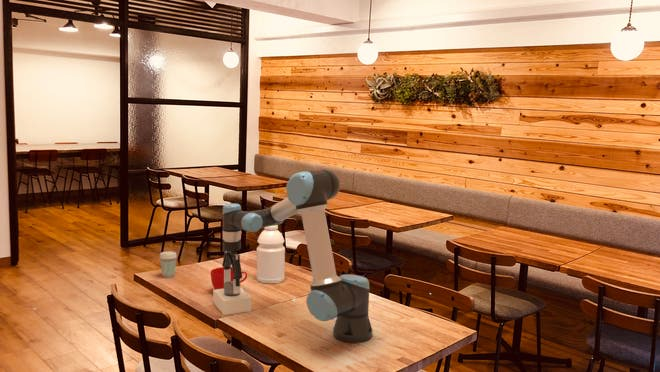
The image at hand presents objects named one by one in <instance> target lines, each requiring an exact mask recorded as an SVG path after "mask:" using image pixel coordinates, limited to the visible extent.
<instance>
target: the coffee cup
mask: <svg viewBox="0 0 660 372" xmlns="http://www.w3.org/2000/svg"><path fill="white" fill-rule="evenodd" d="M177 257H178V255H177V253H176V252H175V251H162V252H160V253H159V257H158V258H159V261H160V269H161V276H162V278H164V279H171V278H175V275H176V264H177Z"/></svg>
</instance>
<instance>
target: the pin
mask: <svg viewBox="0 0 660 372" xmlns="http://www.w3.org/2000/svg"><path fill="white" fill-rule="evenodd" d="M224 295H225V296H238V295H240V293H238V294H234V289H233V281H228V282H225V283H224Z"/></svg>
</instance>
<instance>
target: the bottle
mask: <svg viewBox="0 0 660 372" xmlns="http://www.w3.org/2000/svg"><path fill="white" fill-rule="evenodd" d="M263 228H264V229H263V230H262V231H261V233H260V234H259V236H258V238H257V243H258V244H259V245H258V246H257V247H256V276H255V277H256V280H257V282H258V283H261V284H267V285H268V284H271V285H272V284H280V283H281V282H282V283H283V282H284V280H285V278H286V275H285V267H286V264H285V263H286V260H285V259H286V255H285V254H286V247H285V246H284V245H283V244H284V243H285V239H284V237H283V234H282V232H280V231H279V230H278V229H279V225H276V226H268V227H263Z"/></svg>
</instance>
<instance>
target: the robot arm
mask: <svg viewBox="0 0 660 372" xmlns="http://www.w3.org/2000/svg"><path fill="white" fill-rule="evenodd" d="M285 189H286V198H284V199H283V200H281V201H279V202H276V203H274V205H272V206H270V207H268V208H264V209H263V208H262V209H259V210H252V211H246V210H245V211H244V210H242V206H241V205H240V204H239V203H226V204H224V205H223V206H222V240H223V241H222V249H223V250H224V253H223V260H222V267H224V269H225V270H224V283H225V282H228V281H231V267H232V269H233V274H234V277H233V289H234V294H238V293H240V287H241V283H240V281H241V279H243V273H242V272H243V271H242V266H241V259H240V258H241V255H240V254H238V252H237V251H239V250H241V248H242V243H241V239H242V238H241V236H242V233H243V232H242V230H243V231H246V232H250V233H256V232H258V231H259V230H260V229H263V228H264V227H268V226H276V225H278V226H279V225H281V224H283V223H284V220H287V219H289V218H290V217H292V216H294V215H297V214H298V213H299V214H300V215H301V220H302V224H303V225H302V226H303V230H304V236H305V242H306V246H307V247H306V248H307V252H308V257H309V258H308V259H309V263H310V269H311V273H312V274H311V275H312V280H311V282H310V284H309V286H310V292H309V293H308V294H307V296H306V299H305V301H306V302H305V303H306V307H307V309H308V312H309V313H310V314H311V316H313V318H314V319H316V320H318V321H320V322H327V321H332V320H335V322H334V325H333V328H332V336H333V337H334V338H335V339H336V340H339V341H342V342H344V343H345V342H346V343H363V342H364V343H365V342H367V341H369V340H371V338H372V337H373V327H372V324H371V321H370V317H369V308H370V307H369V306H370V305H369V304H370V303H369V302H370V289H371V288H370V282H369V280H368V278H367V277H365V276H362V275H356V274H340V275H339V276H338V275H337V270H336V265H335V261H334V254H333V249H332V245H331V238H330V233H329V228H328V223H327V222H328V221H327V216H326V212H325V210H326V208H327V206H328V205H329V204H328V201H330V200H331V199H333V198H334V199H335V197H336V196H337V195H338V194H339V193H340V189H341V181H340V179H339V176H338V175H337V174H336V173H335V172H333V171H332V170H329V169H318V170H317V169H316V170H305V171H304V170H303V171H300V172H296V173H294V174H292V175H291V176H290V178H289V180H288V181H287V184H286V188H285Z"/></svg>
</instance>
